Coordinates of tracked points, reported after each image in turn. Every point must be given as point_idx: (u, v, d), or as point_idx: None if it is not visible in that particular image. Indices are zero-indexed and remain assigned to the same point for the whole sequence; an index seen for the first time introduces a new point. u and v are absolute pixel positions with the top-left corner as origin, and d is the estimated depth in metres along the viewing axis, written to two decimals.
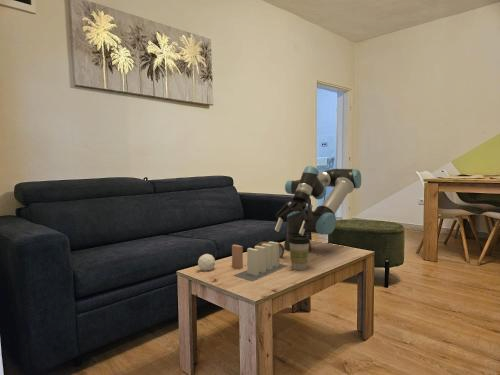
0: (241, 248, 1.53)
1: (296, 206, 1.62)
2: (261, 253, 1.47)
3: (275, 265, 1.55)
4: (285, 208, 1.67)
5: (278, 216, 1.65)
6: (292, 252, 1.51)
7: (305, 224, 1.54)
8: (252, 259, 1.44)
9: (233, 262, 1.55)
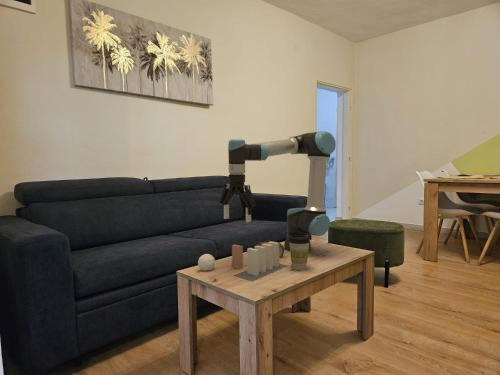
0: (241, 248, 1.53)
1: (235, 190, 1.51)
2: (261, 253, 1.47)
3: (275, 265, 1.55)
4: (226, 192, 1.56)
5: (222, 203, 1.57)
6: (292, 252, 1.51)
7: (249, 211, 1.47)
8: (252, 259, 1.44)
9: (233, 262, 1.55)
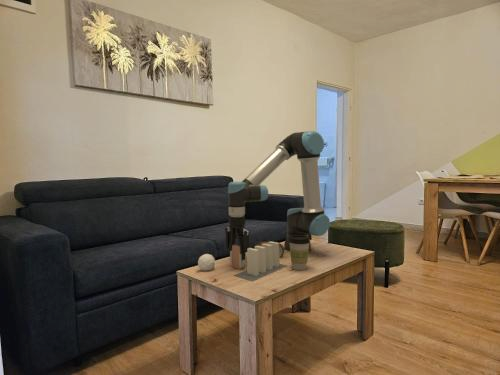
0: None
1: (235, 232, 1.53)
2: (261, 253, 1.47)
3: (275, 265, 1.55)
4: (229, 235, 1.57)
5: (229, 249, 1.56)
6: (292, 252, 1.51)
7: (242, 256, 1.52)
8: (252, 259, 1.44)
9: (233, 262, 1.55)
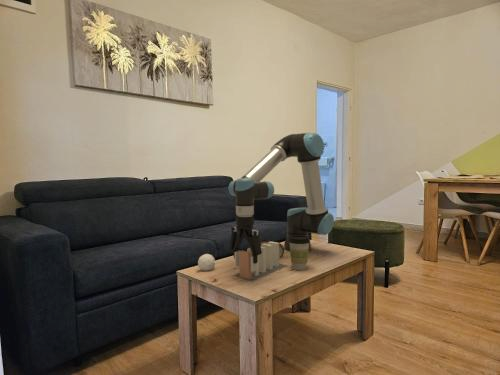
0: (249, 254, 1.40)
1: (243, 233, 1.40)
2: None
3: (275, 265, 1.55)
4: (235, 236, 1.44)
5: (233, 250, 1.44)
6: (292, 252, 1.51)
7: (254, 259, 1.37)
8: None
9: (240, 269, 1.42)
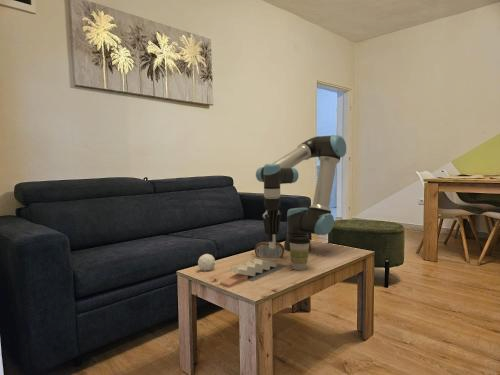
0: (231, 285, 1.32)
1: None
2: (248, 270, 1.41)
3: (274, 266, 1.55)
4: (276, 218, 1.58)
5: None
6: (292, 252, 1.51)
7: None
8: None
9: None
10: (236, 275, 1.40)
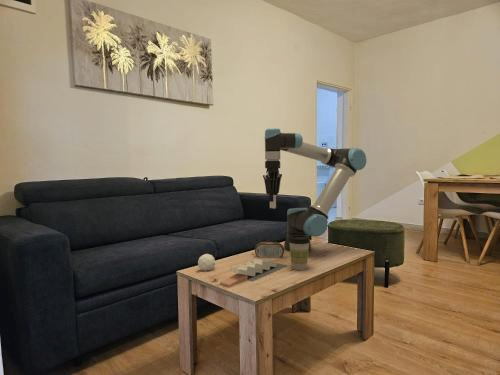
0: (231, 285, 1.32)
1: None
2: (248, 270, 1.41)
3: (274, 266, 1.55)
4: (276, 181, 1.68)
5: None
6: (292, 252, 1.51)
7: None
8: None
9: None
10: (236, 275, 1.40)
